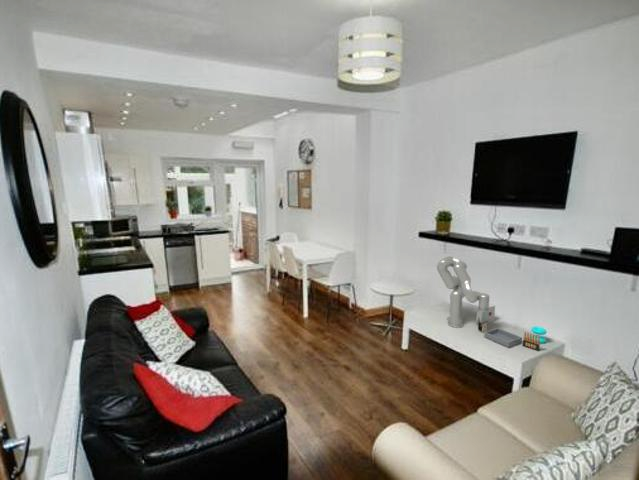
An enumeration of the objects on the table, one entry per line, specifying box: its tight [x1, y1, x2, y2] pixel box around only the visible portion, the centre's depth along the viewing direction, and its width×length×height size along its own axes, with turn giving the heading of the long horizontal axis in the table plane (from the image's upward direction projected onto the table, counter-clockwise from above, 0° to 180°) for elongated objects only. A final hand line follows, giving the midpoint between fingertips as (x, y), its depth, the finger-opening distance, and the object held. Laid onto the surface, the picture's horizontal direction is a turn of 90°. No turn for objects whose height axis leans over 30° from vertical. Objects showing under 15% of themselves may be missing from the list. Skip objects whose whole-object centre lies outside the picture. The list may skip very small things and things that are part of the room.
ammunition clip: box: [521, 330, 541, 352], centre depth 245 cm, size 11×2×12 cm, turn 39°
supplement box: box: [487, 303, 496, 324], centre depth 294 cm, size 9×9×15 cm
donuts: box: [530, 326, 548, 344], centre depth 255 cm, size 10×10×10 cm
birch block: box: [477, 322, 488, 334], centre depth 274 cm, size 4×4×8 cm
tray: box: [483, 327, 523, 349], centre depth 258 cm, size 20×16×4 cm
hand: (482, 329), depth 274 cm, fingers closed on birch block, 4 cm apart
